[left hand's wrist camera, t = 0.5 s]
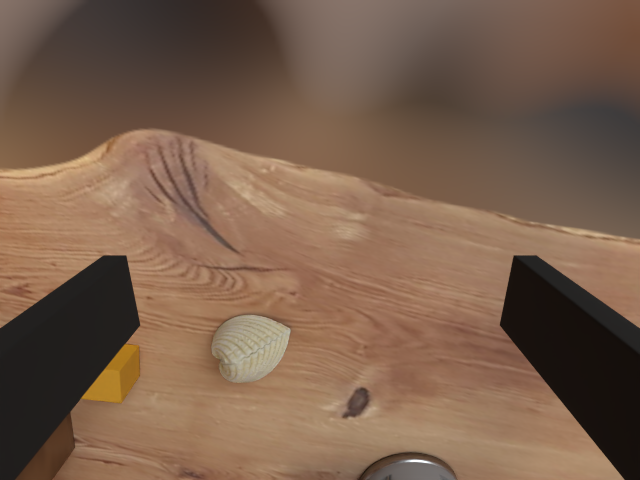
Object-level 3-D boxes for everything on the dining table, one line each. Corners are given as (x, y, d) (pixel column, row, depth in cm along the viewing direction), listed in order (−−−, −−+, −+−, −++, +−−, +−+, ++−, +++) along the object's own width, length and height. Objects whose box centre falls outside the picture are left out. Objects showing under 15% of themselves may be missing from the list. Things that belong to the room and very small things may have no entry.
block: (100, 340, 47) (77, 366, 42) (139, 345, 47) (119, 371, 42) (102, 371, 48) (80, 398, 44) (139, 375, 49) (121, 403, 44)
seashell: (188, 335, 44) (224, 325, 38) (243, 311, 50) (280, 299, 45) (211, 401, 43) (251, 399, 38) (264, 368, 50) (304, 362, 44)
